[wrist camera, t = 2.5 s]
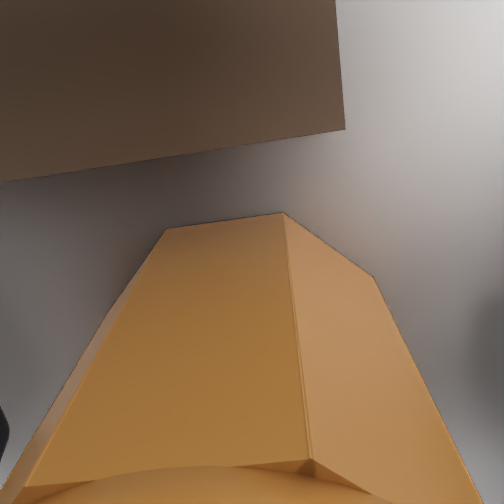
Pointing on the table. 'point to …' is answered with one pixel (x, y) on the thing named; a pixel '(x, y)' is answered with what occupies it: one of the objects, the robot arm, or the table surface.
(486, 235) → the table surface
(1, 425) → the robot arm
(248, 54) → the wooden board with peg
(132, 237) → the table surface
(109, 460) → the orange wooden cylinder
